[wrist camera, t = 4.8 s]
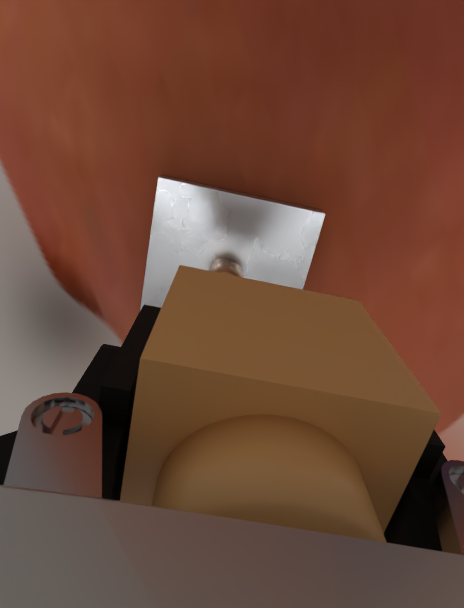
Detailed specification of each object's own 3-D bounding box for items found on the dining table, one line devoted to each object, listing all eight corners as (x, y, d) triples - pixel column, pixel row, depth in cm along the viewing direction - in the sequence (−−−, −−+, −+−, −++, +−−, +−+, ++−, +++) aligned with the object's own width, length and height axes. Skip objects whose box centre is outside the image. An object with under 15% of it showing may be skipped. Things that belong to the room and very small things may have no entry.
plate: (161, 174, 25) (147, 184, 21) (321, 209, 26) (337, 226, 22) (141, 320, 29) (125, 353, 25) (280, 348, 30) (287, 383, 26)
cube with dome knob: (179, 265, 11) (107, 435, 5) (359, 300, 12) (507, 501, 5) (154, 415, 13) (78, 680, 7) (309, 442, 13) (375, 717, 7)
